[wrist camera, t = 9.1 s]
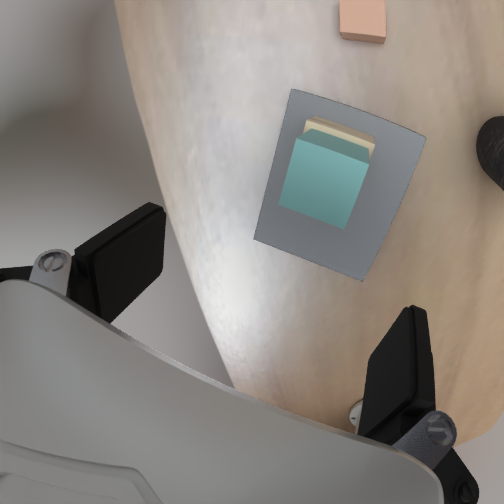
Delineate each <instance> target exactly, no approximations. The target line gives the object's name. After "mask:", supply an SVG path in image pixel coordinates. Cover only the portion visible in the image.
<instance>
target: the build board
mask: <svg viewBox="0 0 504 504" xmlns="http://www.w3.org/2000/svg"><path fill="white" fill-rule="evenodd" d="M314 116H318V117H321V118H324V119H327V120H330V121H333V122H336V123H339V124H342V125H344V126H347V127H350V128H353V129H355V130H358V131H361V132H364V133H366V134H369V135H371V136H374V141H375V146H374V149H373V152H372V155H371V158H370V161H369V167H368V169H367V172H366V175H365V178H364V180H363V183H362V186H361V188H360V191H359V194H358V196H357V199H356V201H355V204H354V207H353V209H352V212H351V214H350V217H349V219H348V222H347V224H346V227H345V229H341V228H339V227H336V226H333V225H331V224H328V223H326V222H323V221H321V220H318V219H315V218H313V217H310V216H307V215H305V214H302V213H299V212H297V211H294V210H291V209H288V208H286V207H283V206H280V205H278V203H279V199H280V196H281V192H282V189H283V185H284V181H285V178H286V174H287V171H288V167H289V163H290V160H291V156H292V153H293V149H294V145H295V142H296V138H298V137H299V136H301V135H302V134H303V131H304V127H305V124H306V120H308V119H310V118H312V117H314ZM425 140H426V137H424V136H422V135H420V134H418V133H416V132H413V131H411V130H409V129H407V128H404V127H402V126H400V125H397V124H395V123H393V122H390V121H388V120H385V119H383V118H380V117H378V116H375V115H372V114H370V113H367V112H364V111H362V110H359V109H356V108H353V107H351V106H348V105H345V104H342V103H339V102H336V101H333V100H330V99H326V98H323V97H320V96H317V95H313V94H310V93H306V92H303V91H299V90H296V89H291V93H290V97H289V101H288V105H287V109H286V113H285V116H284V120H283V124H282V128H281V132H280V136H279V140H278V144H277V148H276V152H275V156H274V160H273V164H272V167H271V171H270V175H269V179H268V183H267V187H266V191H265V195H264V199H263V203H262V207H261V211H260V215H259V219H258V223H257V227H256V231H255V234H254V238H253V239H254V240H257V241H259V242H262V243H264V244H267V245H270V246H272V247H275V248H277V249H280V250H283V251H285V252H288V253H290V254H293V255H296V256H298V257H301V258H303V259H306V260H308V261H311V262H314V263H316V264H319V265H321V266H324V267H326V268H329V269H332V270H334V271H337V272H339V273H342V274H344V275H347V276H349V277H352V278H354V279H357V280H359V281H362V282H363V280H364V278H365V276H366V274H367V273H368V271H369V269H370V267H371V265H372V263H373V261H374V259H375V257H376V255H377V253H378V251H379V249H380V247H381V245H382V242H383V240H384V238H385V236H386V234H387V232H388V230H389V228H390V225H391V223H392V221H393V219H394V217H395V214H396V212H397V210H398V208H399V205H400V203H401V201H402V199H403V196H404V194H405V191H406V189H407V187H408V184H409V182H410V179H411V177H412V174H413V172H414V169H415V167H416V164H417V162H418V159H419V157H420V154H421V151H422V149H423V146H424V143H425Z"/></svg>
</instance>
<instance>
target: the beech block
mask: <svg viewBox="0 0 504 504" xmlns="http://www.w3.org/2000/svg"><path fill="white" fill-rule="evenodd" d="M311 128H312V129H316V130H319V131H322V132H325V133H327V134H330V135H333V136H336V137H339V138H342V139H345V140H347V141H350V142H353V143H355V144H358V145H361V146H363V147H366V148H368V149H369V161H370V158H371V155H372V152H373V149H374V146H375V141H374V136H371V135H369V134H366V133H364V132H361V131H358V130H355V129H353V128H350V127H347V126H344V125H342V124H339V123H336V122H333V121H330V120H327V119H324V118H321V117H318V116H314V117H312V118H310V119H308V120H306V124H305V127H304V131H303V134H304V133H305V132H307V131H308V130H310V129H311Z"/></svg>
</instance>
